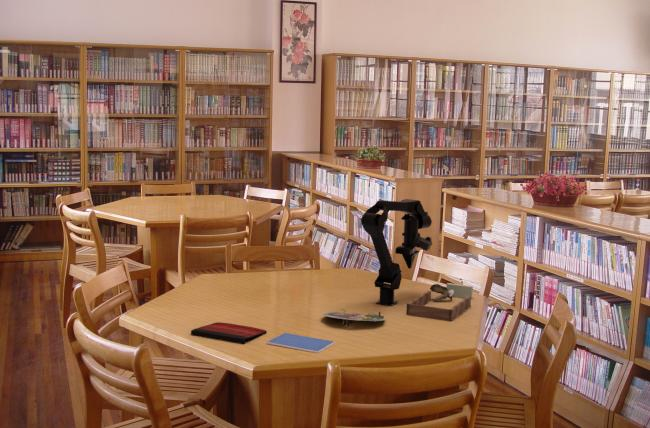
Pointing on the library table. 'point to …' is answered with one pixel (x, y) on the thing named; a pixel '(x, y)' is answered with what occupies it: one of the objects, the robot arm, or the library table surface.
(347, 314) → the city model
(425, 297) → the crate
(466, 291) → the stop rail
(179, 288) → the library table surface
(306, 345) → the blue book
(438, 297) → the eagle figurine
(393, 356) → the library table surface
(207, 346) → the library table surface
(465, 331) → the library table surface
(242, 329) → the binder
